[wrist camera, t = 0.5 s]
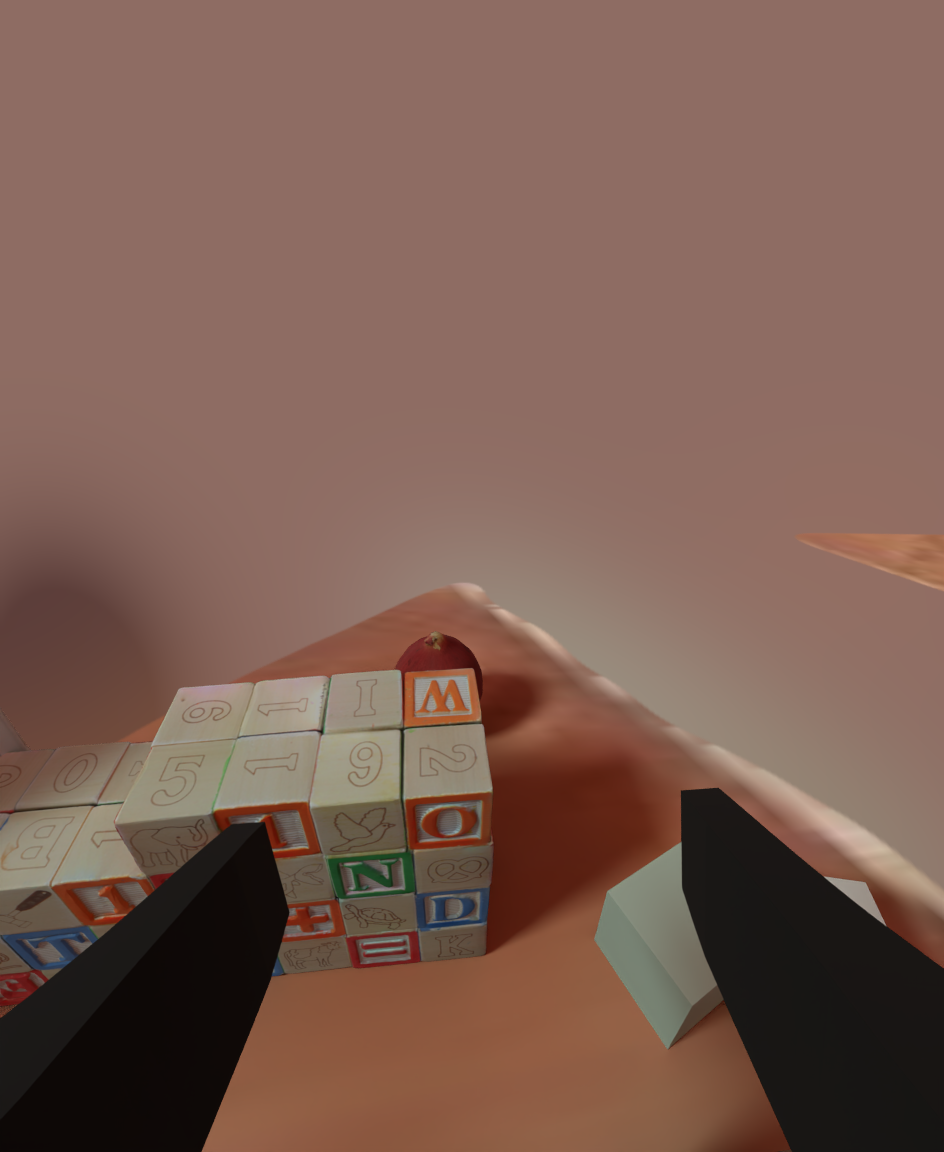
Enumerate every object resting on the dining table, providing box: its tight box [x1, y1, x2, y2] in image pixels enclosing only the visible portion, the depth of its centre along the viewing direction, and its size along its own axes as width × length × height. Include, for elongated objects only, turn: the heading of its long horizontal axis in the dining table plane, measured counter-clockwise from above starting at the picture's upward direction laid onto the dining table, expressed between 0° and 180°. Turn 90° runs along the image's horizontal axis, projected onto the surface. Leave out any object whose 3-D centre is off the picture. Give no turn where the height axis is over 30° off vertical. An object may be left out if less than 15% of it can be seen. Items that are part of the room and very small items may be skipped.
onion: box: [395, 631, 482, 702], centre depth 33 cm, size 6×6×8 cm
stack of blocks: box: [0, 668, 494, 1006], centre depth 22 cm, size 21×6×12 cm, turn 96°
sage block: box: [594, 842, 724, 1049], centre depth 22 cm, size 4×4×4 cm
